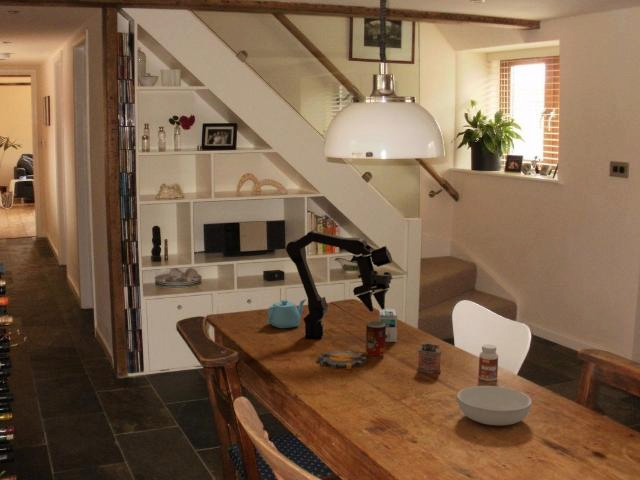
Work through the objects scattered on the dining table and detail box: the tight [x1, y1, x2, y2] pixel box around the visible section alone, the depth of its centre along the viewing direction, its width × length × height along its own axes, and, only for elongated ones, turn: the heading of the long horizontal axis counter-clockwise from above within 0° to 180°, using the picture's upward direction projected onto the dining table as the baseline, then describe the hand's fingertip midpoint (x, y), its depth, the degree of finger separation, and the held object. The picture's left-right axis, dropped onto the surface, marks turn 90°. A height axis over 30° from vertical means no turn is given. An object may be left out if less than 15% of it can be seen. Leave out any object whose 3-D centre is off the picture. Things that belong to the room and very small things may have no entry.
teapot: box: [266, 298, 308, 329], centre depth 337 cm, size 13×11×18 cm
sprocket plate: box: [317, 350, 367, 370], centre depth 289 cm, size 17×17×2 cm
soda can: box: [365, 320, 387, 359], centre depth 295 cm, size 7×7×12 cm
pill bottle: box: [477, 344, 499, 382], centre depth 271 cm, size 6×6×11 cm
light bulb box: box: [378, 308, 398, 343], centre depth 318 cm, size 11×7×11 cm, turn 179°
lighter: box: [417, 341, 442, 375], centre depth 278 cm, size 8×3×10 cm, turn 62°
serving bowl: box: [456, 385, 533, 426], centre depth 235 cm, size 21×21×7 cm
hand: (377, 310), depth 308 cm, fingers open, 9 cm apart
